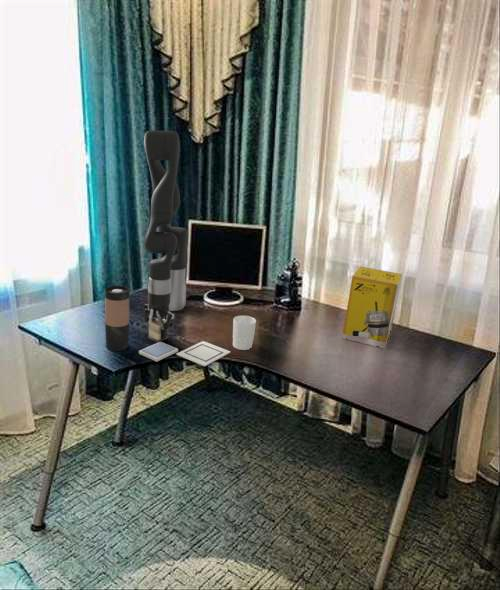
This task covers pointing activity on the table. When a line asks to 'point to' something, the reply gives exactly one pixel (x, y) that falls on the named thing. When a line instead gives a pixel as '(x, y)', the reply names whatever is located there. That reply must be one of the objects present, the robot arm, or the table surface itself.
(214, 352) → the sheet
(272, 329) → the table surface
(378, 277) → the packaging box
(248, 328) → the white cup
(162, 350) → the ink pad
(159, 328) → the stamp
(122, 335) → the travel mug
